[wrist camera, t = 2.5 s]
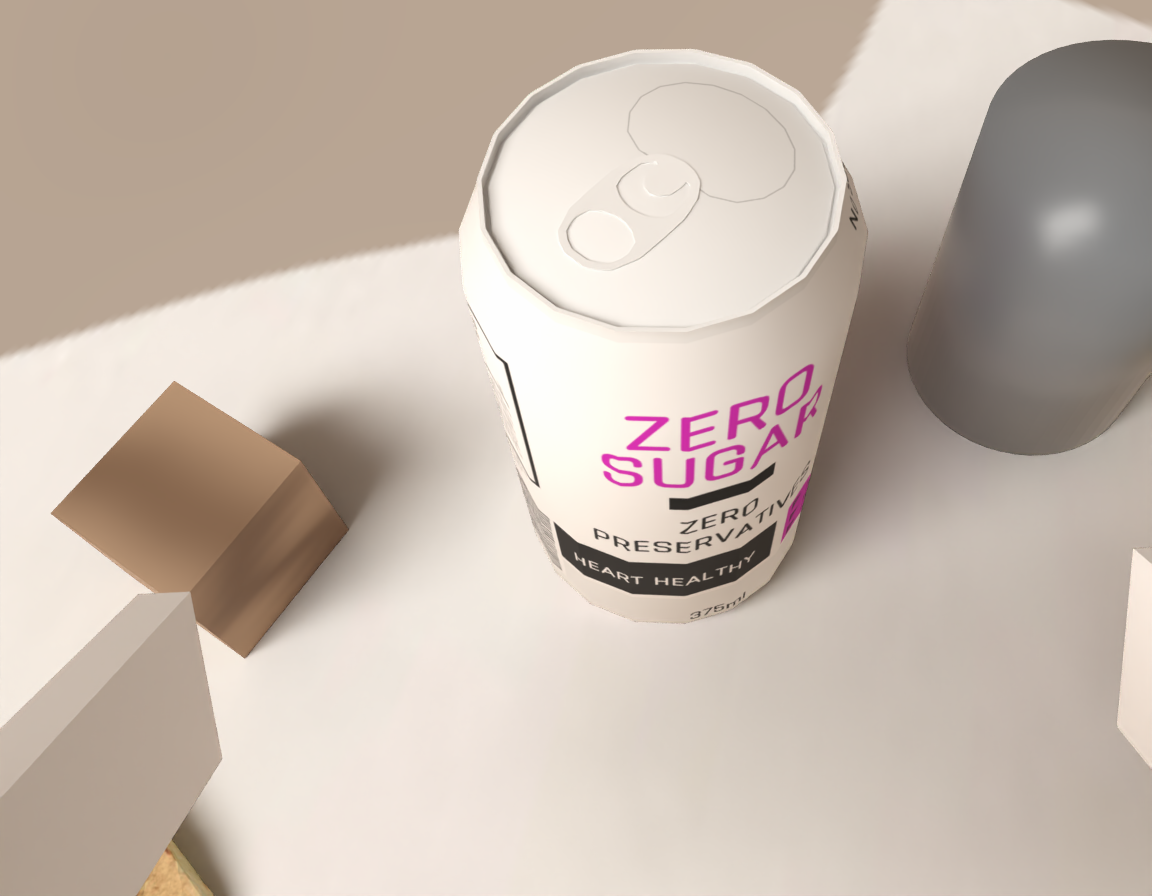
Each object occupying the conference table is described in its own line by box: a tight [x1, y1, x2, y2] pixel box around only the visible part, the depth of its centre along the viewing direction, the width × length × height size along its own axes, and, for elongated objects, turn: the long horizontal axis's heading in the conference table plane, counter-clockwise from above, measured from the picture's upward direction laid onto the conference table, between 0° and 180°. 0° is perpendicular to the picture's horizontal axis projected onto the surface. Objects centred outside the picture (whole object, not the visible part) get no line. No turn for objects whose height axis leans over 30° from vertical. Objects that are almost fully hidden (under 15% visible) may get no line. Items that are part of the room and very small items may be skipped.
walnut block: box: [51, 381, 349, 658], centre depth 32 cm, size 5×5×5 cm
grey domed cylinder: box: [907, 40, 1152, 455], centre depth 30 cm, size 7×7×10 cm
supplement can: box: [459, 49, 868, 624], centre depth 27 cm, size 8×8×15 cm
